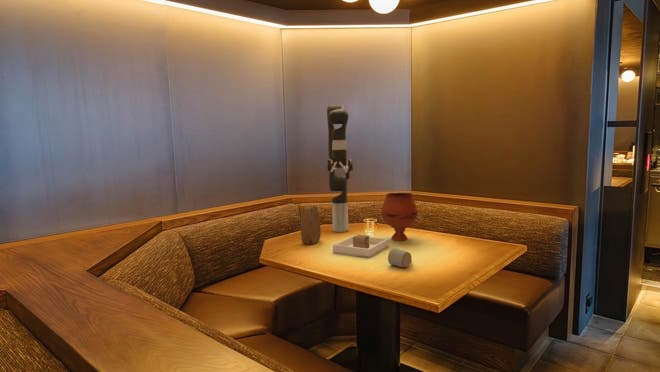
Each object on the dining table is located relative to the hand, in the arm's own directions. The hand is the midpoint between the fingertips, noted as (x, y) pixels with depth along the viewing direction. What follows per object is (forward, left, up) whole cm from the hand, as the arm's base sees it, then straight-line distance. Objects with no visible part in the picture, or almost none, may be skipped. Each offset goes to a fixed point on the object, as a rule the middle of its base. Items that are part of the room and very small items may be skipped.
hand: (340, 179), depth 227 cm
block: (+9, -14, -34) cm, 38 cm away
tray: (+10, +17, -34) cm, 39 cm away
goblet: (-18, +26, -34) cm, 47 cm away
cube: (+10, +17, -33) cm, 39 cm away
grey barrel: (+25, +45, -34) cm, 62 cm away
